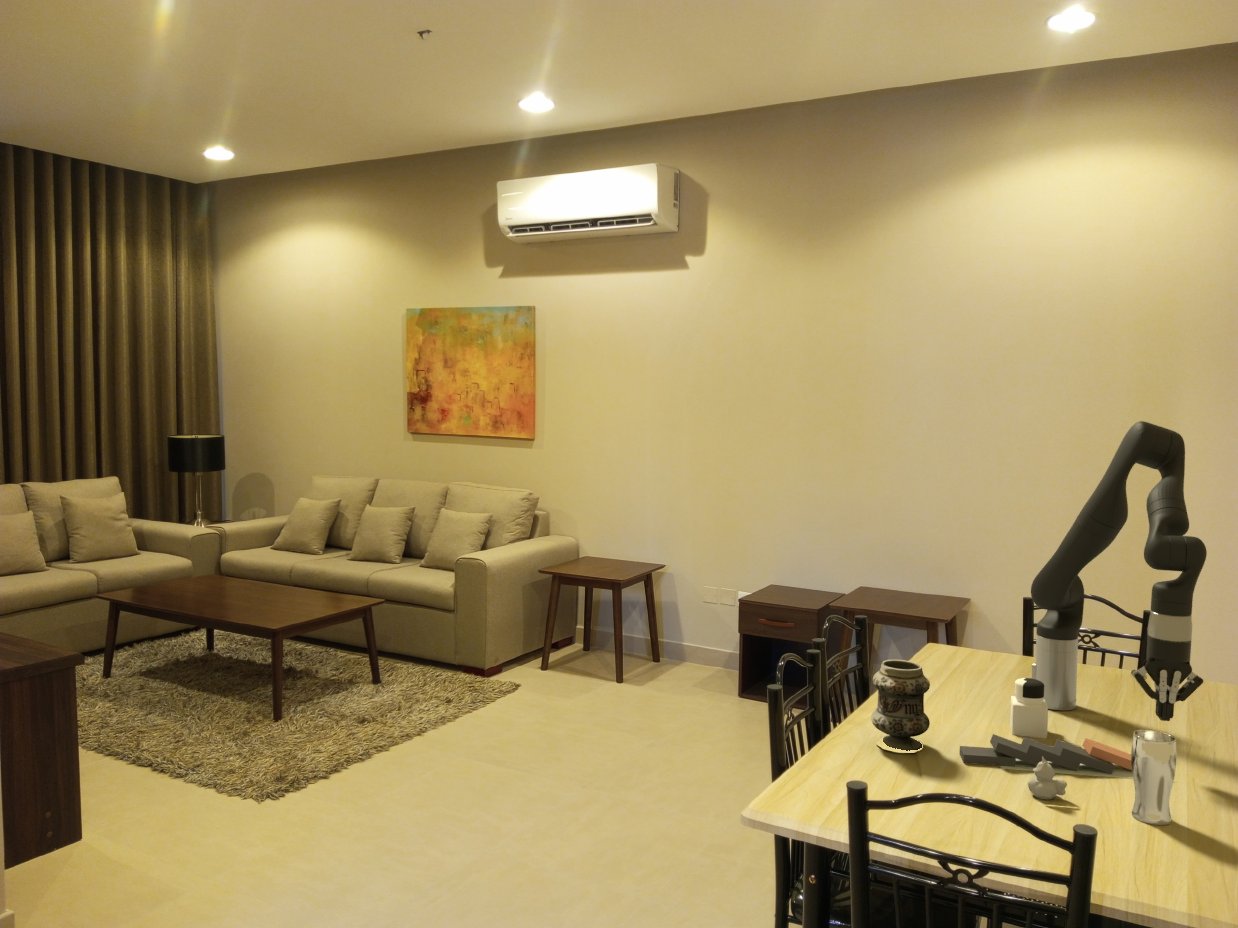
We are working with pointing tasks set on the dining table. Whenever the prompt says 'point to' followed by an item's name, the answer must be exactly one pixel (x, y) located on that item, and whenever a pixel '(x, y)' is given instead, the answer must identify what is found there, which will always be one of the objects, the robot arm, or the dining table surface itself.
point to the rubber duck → (1045, 782)
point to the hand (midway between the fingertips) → (1164, 719)
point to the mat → (1082, 770)
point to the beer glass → (1153, 775)
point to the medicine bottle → (1029, 709)
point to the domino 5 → (1107, 753)
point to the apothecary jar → (901, 703)
